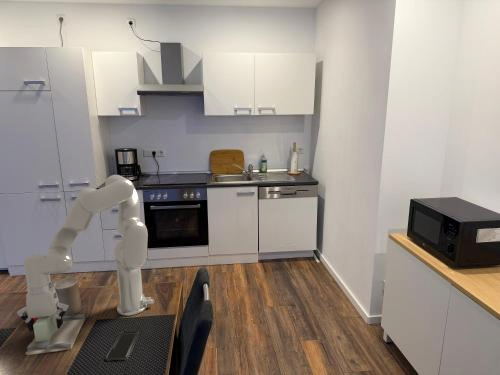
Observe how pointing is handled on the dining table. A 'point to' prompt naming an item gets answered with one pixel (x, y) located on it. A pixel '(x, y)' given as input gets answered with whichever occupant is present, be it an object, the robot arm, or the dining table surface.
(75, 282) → the pillar candle
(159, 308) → the dining table surface
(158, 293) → the dining table surface
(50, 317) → the sage panel block
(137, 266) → the robot arm
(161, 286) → the dining table surface
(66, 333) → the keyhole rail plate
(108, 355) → the phone
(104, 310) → the dining table surface
